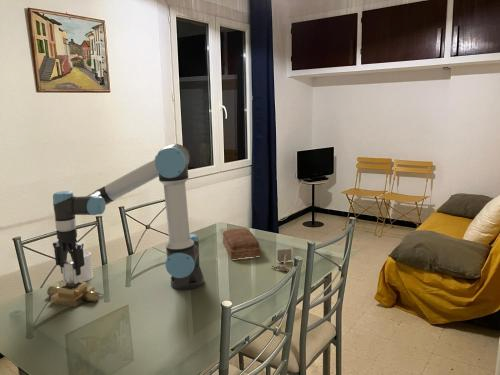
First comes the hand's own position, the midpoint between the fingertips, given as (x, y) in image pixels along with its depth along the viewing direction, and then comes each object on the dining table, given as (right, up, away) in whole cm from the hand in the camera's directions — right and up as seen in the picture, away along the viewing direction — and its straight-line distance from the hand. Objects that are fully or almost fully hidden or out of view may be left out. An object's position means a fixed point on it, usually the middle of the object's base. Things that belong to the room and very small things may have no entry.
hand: (72, 281), depth 162 cm
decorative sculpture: (+91, -1, +33) cm, 97 cm away
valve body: (0, -8, +2) cm, 8 cm away
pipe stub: (0, -4, +1) cm, 4 cm away
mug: (-5, -4, +20) cm, 21 cm away
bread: (+70, +3, +56) cm, 90 cm away
